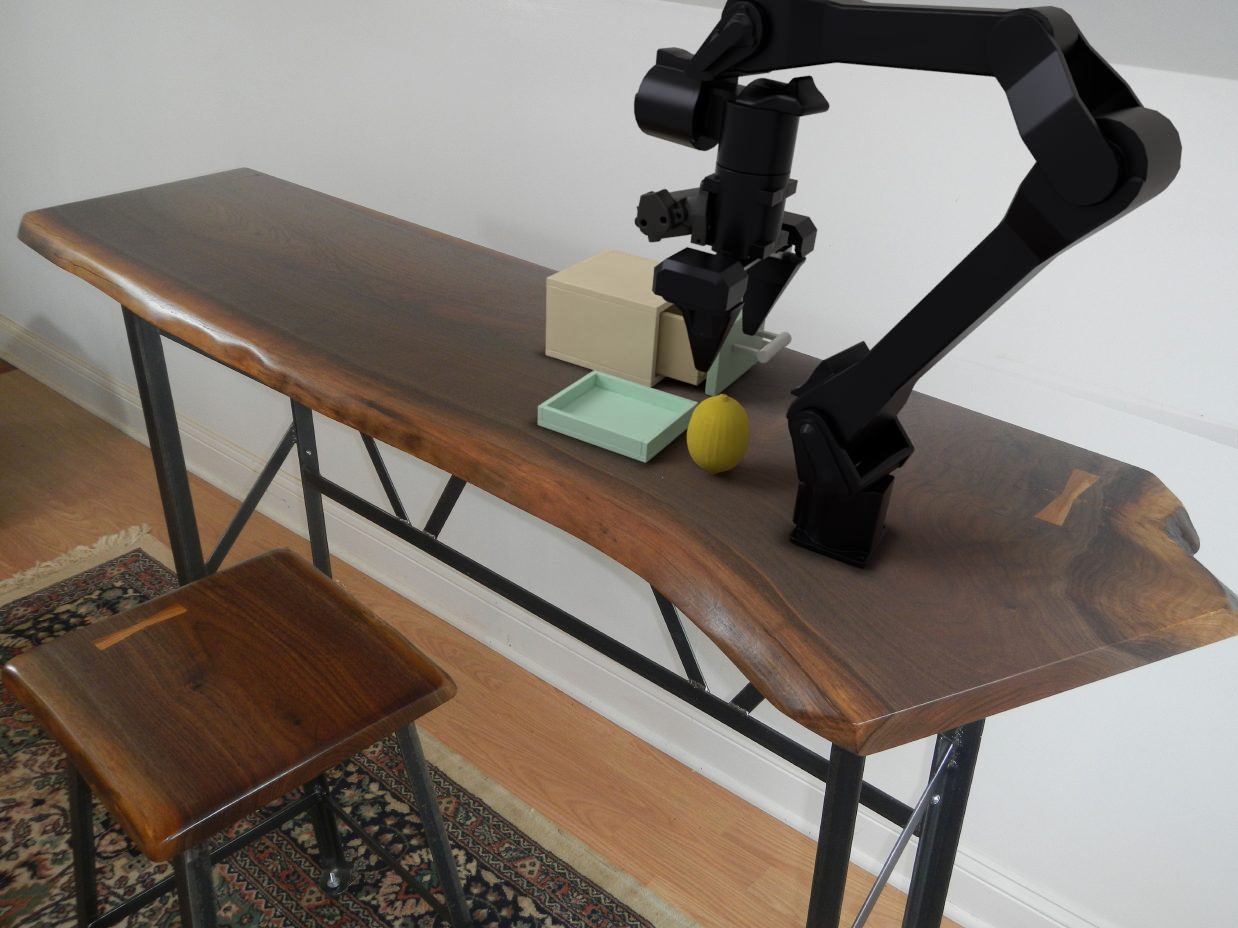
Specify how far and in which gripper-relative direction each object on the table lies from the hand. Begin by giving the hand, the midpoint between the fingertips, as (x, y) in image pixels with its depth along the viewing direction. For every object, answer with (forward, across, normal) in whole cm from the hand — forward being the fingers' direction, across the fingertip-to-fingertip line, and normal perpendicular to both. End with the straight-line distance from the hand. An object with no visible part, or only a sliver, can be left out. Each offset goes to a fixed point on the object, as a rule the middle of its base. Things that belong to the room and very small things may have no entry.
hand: (726, 351), depth 81 cm
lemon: (+12, 0, 0) cm, 12 cm away
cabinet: (+13, -18, -19) cm, 29 cm away
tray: (+12, -3, -12) cm, 17 cm away
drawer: (+11, -18, -10) cm, 23 cm away
